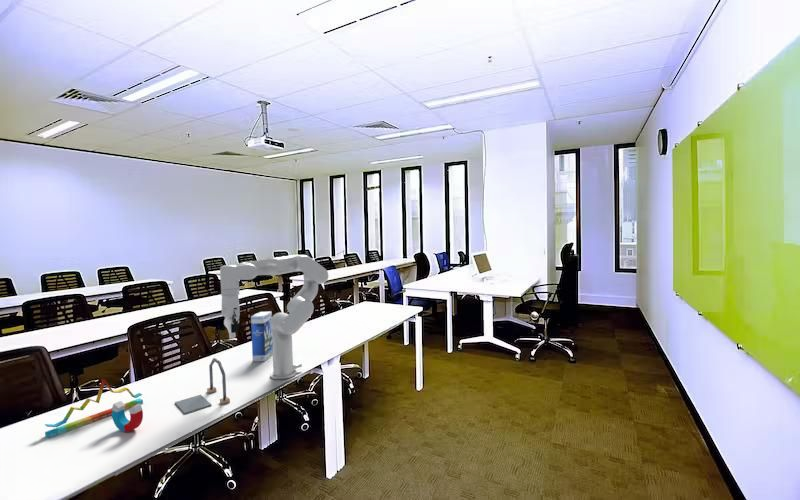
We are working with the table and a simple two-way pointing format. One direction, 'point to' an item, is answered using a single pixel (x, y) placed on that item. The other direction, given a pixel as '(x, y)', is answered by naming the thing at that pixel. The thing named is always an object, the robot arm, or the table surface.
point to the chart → (93, 417)
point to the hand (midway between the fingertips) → (232, 330)
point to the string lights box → (261, 336)
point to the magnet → (121, 419)
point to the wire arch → (213, 389)
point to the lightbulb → (229, 327)
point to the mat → (192, 404)
